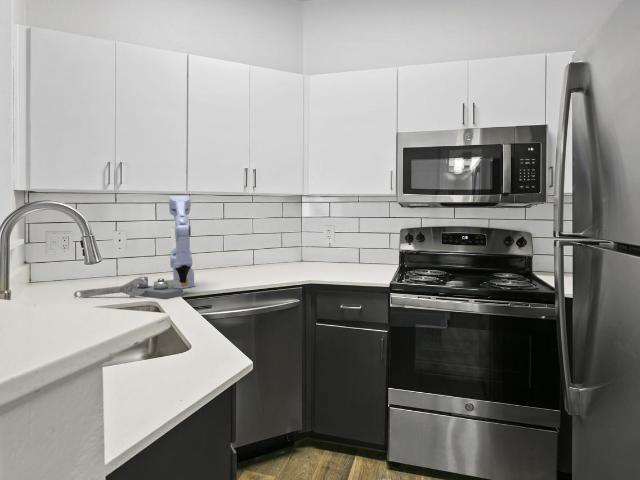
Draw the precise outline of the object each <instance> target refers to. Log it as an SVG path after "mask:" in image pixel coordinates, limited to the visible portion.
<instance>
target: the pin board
mask: <svg viewBox="0 0 640 480" xmlns="http://www.w3.org/2000/svg"><path fill="white" fill-rule="evenodd" d="M137 288H138V285H137ZM138 290H143V291H145V292H144V293H143V294H141V295H138V296H141V297H144V298H145V297H146V298H155V299H162V300H168V299H173V298H177V297H181V296H184V289H179V288H171V287H169V288H165V289H154V285H148V288H145V289H138Z"/></svg>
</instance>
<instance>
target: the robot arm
mask: <svg viewBox="0 0 640 480" xmlns="http://www.w3.org/2000/svg"><path fill="white" fill-rule="evenodd" d="M191 201H192V200H191V196H190V195H170V196H169V197H168V207H169V214H170V215H172V216H173V217H174V221H175V222H174V223H175V226H174V236H175V237H174V238H175V248H174V249H173V250H171V251H170V252H169V253H170V256H169V259H170V260H169V263H170V268H171V269H172V270H173V273H172V275H173V279H172V280H176V279H180V283H186V278H187V279H188V286H185V287H170V288H173V289H182V290H184V289H188V288H193V287H196V284H195V271H194V270H193V268H192V267H193V256H192V251H191V249H190V247H191V245H190V240H191V239H190V238H191V235H192V227H191V225H190V223H189V214H190V212H191V203H192V202H191Z"/></svg>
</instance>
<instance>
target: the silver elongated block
mask: <svg viewBox="0 0 640 480" xmlns="http://www.w3.org/2000/svg"><path fill="white" fill-rule="evenodd" d="M153 286H154V289H165V288H171V287H185V286H188V279H187V278H186V283H180V279H176V280H173V279H165V278H157V280H155V281H153Z"/></svg>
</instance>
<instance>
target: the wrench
mask: <svg viewBox="0 0 640 480" xmlns="http://www.w3.org/2000/svg"><path fill="white" fill-rule="evenodd" d="M139 283H142V284H147V282H146V281H145V280H144V279H142V278H138V277H136V278H134V279H132V280H130V281H129V282H127V283H125V284H123V285H118V286H108V287H106V286H105V287H99V288H90V289H89V288H88V289H80V290H76V291H75V292H74V293H73V296H74V298H76V297H82V298H87V297H88V298H89V297H98V296H103V295H104V296H105V295H113V294H120V293H121V294H122V293H123V294H126V295H128V296H129V298H133V299H134V298H135V297H136V296H138V295H141V294H143V293H144V292H145V291H143V290H138V288H137V286H138V284H139ZM77 293H79V294H80V295H78V294H77Z"/></svg>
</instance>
